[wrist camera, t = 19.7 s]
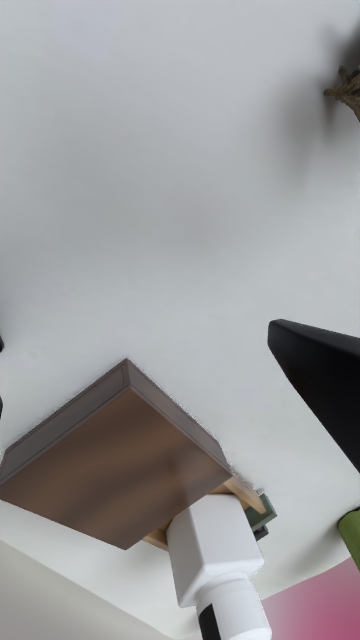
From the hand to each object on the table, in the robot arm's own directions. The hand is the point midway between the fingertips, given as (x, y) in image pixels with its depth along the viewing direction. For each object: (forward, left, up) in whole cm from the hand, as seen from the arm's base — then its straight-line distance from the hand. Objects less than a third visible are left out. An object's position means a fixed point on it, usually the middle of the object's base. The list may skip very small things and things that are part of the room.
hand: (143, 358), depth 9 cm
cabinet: (-3, -19, -13) cm, 23 cm away
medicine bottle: (+4, -31, -11) cm, 34 cm away
